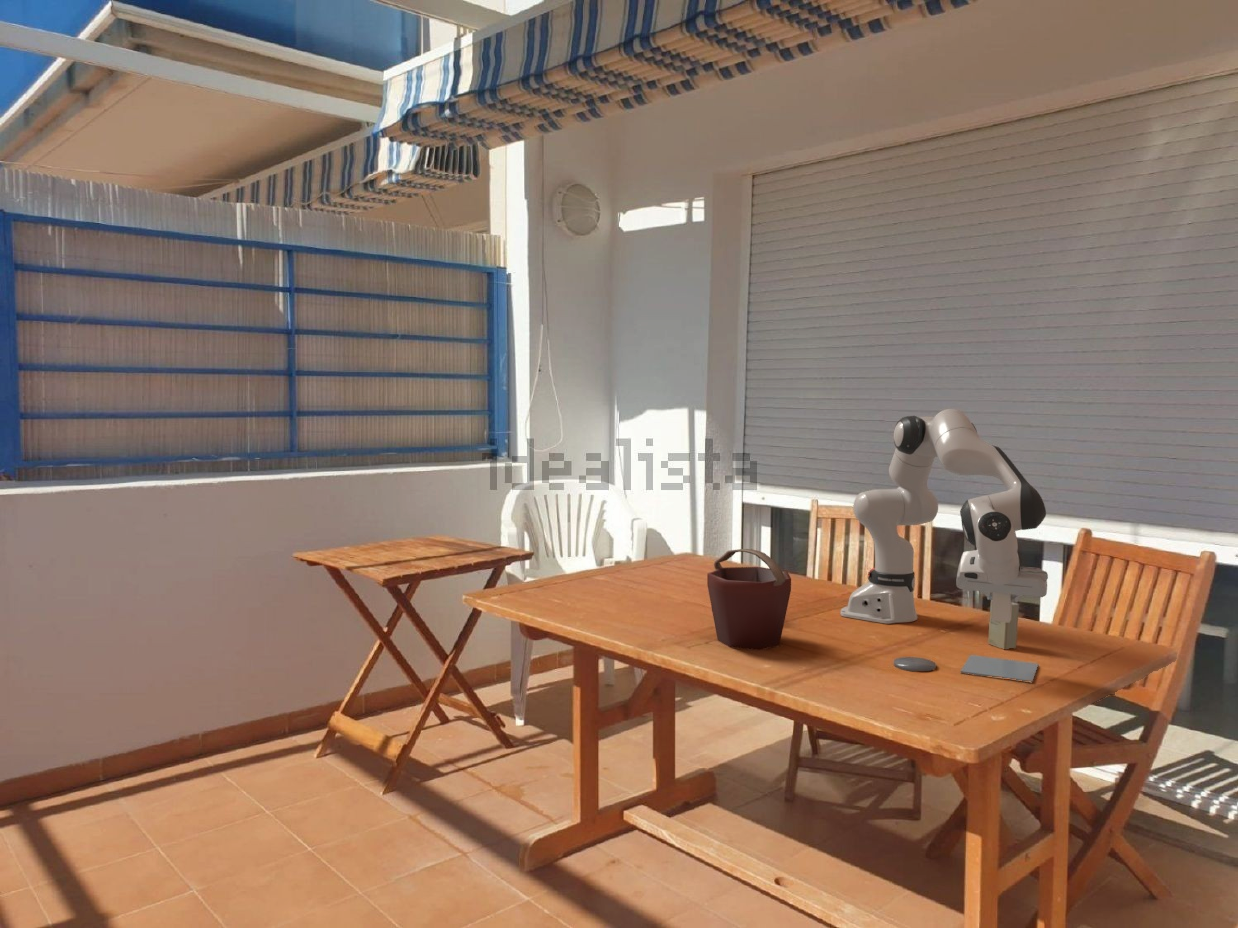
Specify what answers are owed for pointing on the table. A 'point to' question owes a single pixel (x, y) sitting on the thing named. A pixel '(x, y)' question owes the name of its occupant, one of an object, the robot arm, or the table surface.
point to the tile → (1000, 668)
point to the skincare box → (1004, 630)
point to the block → (1001, 607)
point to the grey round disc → (914, 664)
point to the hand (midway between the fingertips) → (1002, 598)
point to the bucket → (749, 602)
